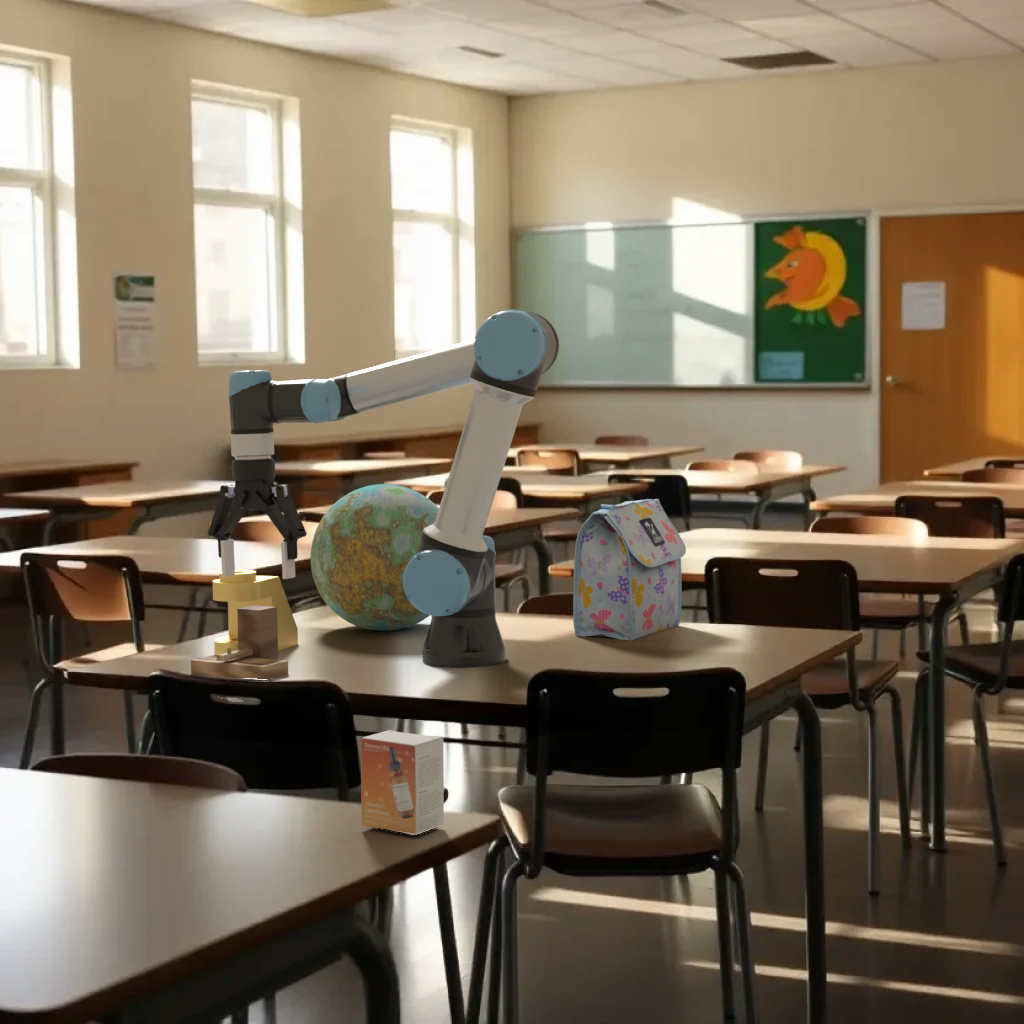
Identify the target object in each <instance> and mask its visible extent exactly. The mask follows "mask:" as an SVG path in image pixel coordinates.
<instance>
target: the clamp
mask: <svg viewBox="0 0 1024 1024" xmlns="http://www.w3.org/2000/svg"><path fill="white" fill-rule="evenodd" d="M218 574H219V578H218V579H217V578H216V579H213V580H212V600H213V601H217V602H226V603H227V615H228V616H227V618H228V619H227V620H228V634H227V635H224V636H221V637H218V638H215V639H214V640H213V645H214V646H213V647H214V648H213V651H214V654H213V655H218V654H223V653H227V648H231V652H232V651H236V650H238V617H237V609H238V608H244V607H249V606H254V605H257V606H271V607H277V623H278V652H281V651H282V650H286V649H288V648H292V647H294V646H298V644H299V640H298V639H299V637H298V635H299V633H298V631H299V628H298V626H297V624H296V623H297V622H296V620H295V618H294V615H293V613H292V609H291V606H290V604H289V602H288V598H287V595H286V593H285V589H284V587H283V584H282V582H281V578H280V576H278V575H277V576H276V575H275V576H273V575H257V571H256V570H248V569H246V570H245V569H238V570H237V569H235V575H233V576H228V577H222V571H219V573H218Z"/></svg>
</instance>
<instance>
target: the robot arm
mask: <svg viewBox="0 0 1024 1024" xmlns="http://www.w3.org/2000/svg"><path fill="white" fill-rule="evenodd" d="M559 351H560V339H559V334H558V333H557V330H556V328H555V326H554V325H553V324H552V323H551V322H550V321H549V320H548V319H547V318H545V317H544V316H542V315H540V314H539V313H538V314H537V313H534V312H529V311H528V312H527V311H524V310H518V309H506V310H501V311H499V312H497V313H494V314H492V315H491V316H489V317H488V318H486V319H485V320H484V321H483V322H482V324H481V325H480V326H479V328H478V330H477V332H476V334H475V337H474V339H472V340H466V341H463V342H460V343H456V344H451V345H449V346H444V347H442V348H437V349H435V350H430V351H427V352H424V353H423V352H422V353H420V354H416V355H411V356H409V357H405V358H400V359H398V360H397V359H396V360H393V361H389V362H386V363H382V364H379V365H376V366H372V367H368V368H364V369H360V370H357V371H356V370H355V371H353V372H349V373H345V374H341V375H337V376H333V377H330V378H326V379H325V378H324V379H323V378H311V379H295V380H294V379H292V380H273V378H272V373H271V371H269V370H267V369H266V370H265V369H262V370H260V369H259V370H236V371H233V372H232V373H230V375H229V377H228V382H229V383H228V397H227V399H228V403H229V404H228V405H229V419H230V420H229V421H230V422H229V423H230V449H231V451H230V452H231V453H230V455H231V456H232V457H234V459H233V460H232V461H231V468H232V469H231V470H232V471H231V472H232V479H233V481H234V482H235V484H234V485H233V484H224V485H221V486H220V489H219V499H218V501H217V505H216V508H215V510H214V513H213V516H212V519H211V522H210V524H209V525H210V526H209V529H208V532H207V535H208V536H209V537H213V538H215V539H216V541H217V551H218V553H217V554H218V557H219V558H221V572H222V577H228V576H233V575H235V570H236V564H235V544H234V542H235V541H234V539H233V538H232V534H233V532H234V531H235V529H236V528H237V526H238V524H239V522H240V521H241V520H242V518H243V517H244V514H245V513H246V512H248V511H262V512H263V513H264V514H266V515H267V516H268V518H269V520H270V521H271V522H272V524H273V525H274V526H275V527H276V529H277V531H278V532H279V534H280V535H281V537H282V538H283V540H282V541H281V542H280V547H281V569H282V570H281V571H282V579H283V580H289V579H294V578H296V563H295V561H296V559H298V556H299V555H298V540H300V539H302V538H303V537H306V536H307V530H306V528H305V526H304V524H303V521H302V520H301V517H300V515H299V512H298V509H297V508H296V505H295V504H294V503H295V502H293V501H294V500H293V499H292V496H291V495H292V494H291V489H290V485H289V484H279V485H275V481H274V480H275V478H276V460H275V459H274V458H272V456H273V455H275V445H274V443H275V441H274V439H275V438H274V431H275V430H274V424H287V423H288V424H306V423H307V424H308V423H313V424H321V423H322V424H323V423H326V422H336V421H337V422H338V421H341V420H343V419H345V418H347V417H351V416H354V415H357V414H361V413H365V412H368V411H372V410H377V409H380V408H384V407H387V406H391V405H396V404H400V403H403V402H407V401H410V400H411V401H412V400H415V399H419V398H422V397H426V396H430V395H434V394H438V393H442V392H445V391H449V390H453V389H457V388H460V387H464V386H468V385H472V386H473V388H474V392H473V396H472V400H471V402H470V407H469V409H468V413H467V416H466V419H465V421H464V425H463V429H462V432H461V435H460V438H459V442H458V445H457V448H456V452H455V455H454V459H453V461H452V463H451V464H452V465H451V468H450V471H449V475H448V478H447V481H446V483H445V488H444V491H443V493H442V497H441V501H440V504H439V507H438V508H439V510H438V514H437V517H436V520H435V522H434V523H433V524H432V525H430V526H428V527H426V528H424V530H423V533H422V536H421V539H420V542H419V546H418V549H417V552H416V555H414V556H413V557H412V558H411V560H410V561H409V562H408V564H407V566H406V568H405V571H404V574H403V587H404V591H405V594H406V596H407V598H408V600H409V601H410V603H411V604H412V605H413V606H414V607H415V608H416V609H418V610H419V611H421V612H422V613H425V614H427V615H430V616H431V620H430V623H429V626H428V629H427V630H428V631H427V634H426V638H425V640H424V644H423V648H422V650H421V651H422V662H423V663H424V664H425V665H430V666H434V667H435V666H436V667H443V668H444V667H445V668H475V667H477V668H479V667H486V666H493V665H499V664H502V663H504V662H506V661H507V660H506V658H507V657H506V656H507V655H506V654H507V653H506V650H507V649H506V645H505V644H504V640H503V637H502V634H501V630H500V628H499V625H498V622H497V617H496V555H497V552H496V549H495V541H494V539H493V538H492V537H490V535H484V532H485V528H486V525H487V523H488V519H489V516H490V513H491V509H492V506H493V503H494V500H495V496H496V493H497V490H498V487H499V484H500V481H501V477H502V474H503V470H504V467H505V464H506V460H507V457H508V455H509V451H510V447H511V445H512V442H513V438H514V435H515V432H516V430H517V425H518V422H519V419H520V415H521V413H522V409H523V406H524V405H525V404H527V403H528V402H530V401H532V400H534V399H535V397H536V394H537V390H538V387H539V384H540V381H541V379H542V376H543V375H544V374H546V373H547V372H549V370H550V369H551V368H552V367H553V366H554V365H555V363H556V361H557V359H558V355H559ZM234 497H235V498H236V500H235V502H234ZM275 497H276V499H277V501H276V500H275ZM233 502H234V503H233ZM231 508H232V509H231ZM230 510H231V511H230Z"/></svg>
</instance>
